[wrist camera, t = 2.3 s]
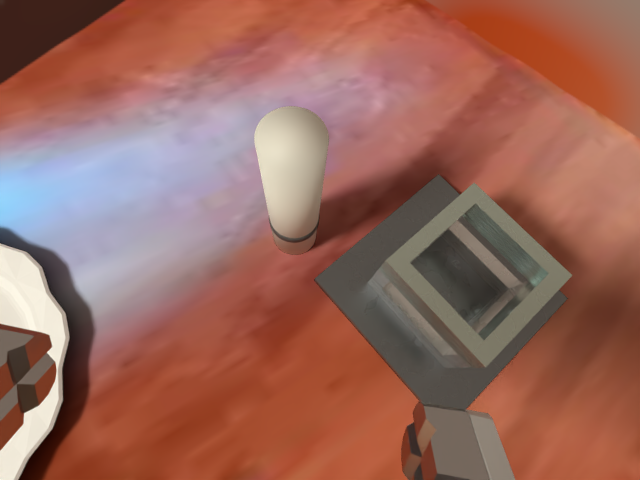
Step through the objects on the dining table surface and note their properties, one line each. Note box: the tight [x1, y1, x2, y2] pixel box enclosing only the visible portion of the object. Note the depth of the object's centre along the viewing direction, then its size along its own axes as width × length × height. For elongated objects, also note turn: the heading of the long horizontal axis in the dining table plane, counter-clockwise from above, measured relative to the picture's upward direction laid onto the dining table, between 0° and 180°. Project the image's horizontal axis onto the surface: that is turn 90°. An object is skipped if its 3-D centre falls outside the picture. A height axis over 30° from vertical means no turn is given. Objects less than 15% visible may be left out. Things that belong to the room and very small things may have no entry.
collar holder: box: [314, 174, 572, 410], centre depth 31 cm, size 16×16×8 cm
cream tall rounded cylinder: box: [254, 106, 329, 255], centre depth 29 cm, size 4×4×16 cm
